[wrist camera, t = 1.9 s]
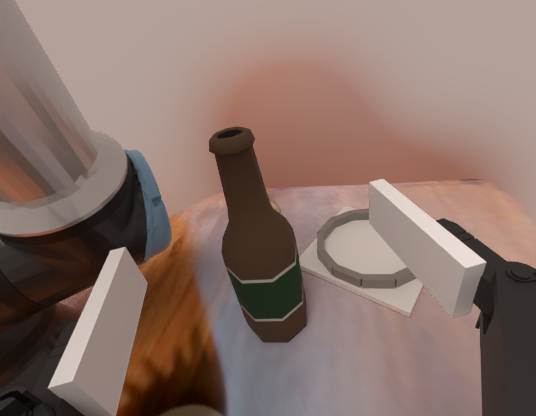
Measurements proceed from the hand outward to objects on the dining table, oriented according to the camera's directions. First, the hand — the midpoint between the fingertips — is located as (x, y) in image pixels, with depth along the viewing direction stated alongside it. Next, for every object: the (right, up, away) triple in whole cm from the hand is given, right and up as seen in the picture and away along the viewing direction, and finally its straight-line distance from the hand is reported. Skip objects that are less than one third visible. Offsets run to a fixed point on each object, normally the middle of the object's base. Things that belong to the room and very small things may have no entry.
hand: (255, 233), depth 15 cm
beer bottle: (+2, -12, +20) cm, 24 cm away
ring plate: (+16, -5, +26) cm, 31 cm away
